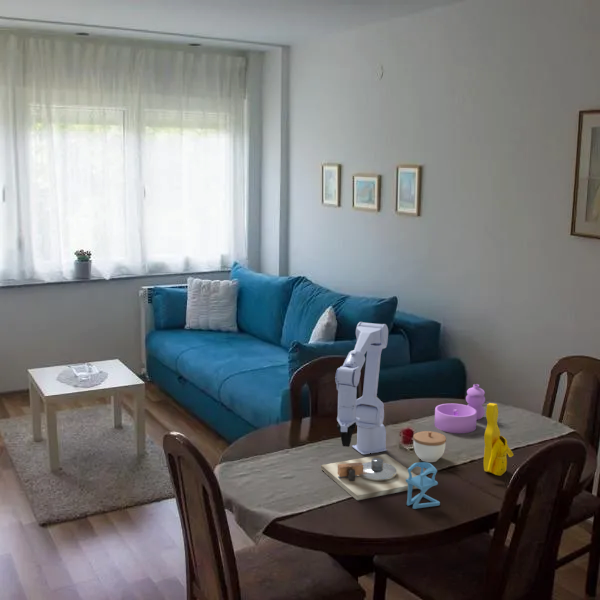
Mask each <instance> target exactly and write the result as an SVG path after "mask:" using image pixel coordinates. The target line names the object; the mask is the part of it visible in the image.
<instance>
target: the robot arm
mask: <svg viewBox="0 0 600 600" xmlns="http://www.w3.org/2000/svg"><path fill="white" fill-rule="evenodd" d="M355 337H356V343H355V345H354V349H353V350H350V351H349V352H348V354H347V356H346V358H345V359H344V362H343V364H342V365H341V366H340V367H338V368H337V369H336V372H335V377H334V378H335V380H334V381H335V384H336V391H337V417H336V421H337V422H338V423H337V425H336V428H337V430H338V433H339V436H340V439H341V445H342V447H345V448H346V447H347V448H350V445H351V442H352V436H353V433H354V431H355V430H356V426H357V431H356V437H357V438H356V444H353V445H351V447H352V448H353V449H354V450H356V451H357V452H358V453H360V454H361V455H362V456H363V455H370V453H371V454H377V453H381V452H387V448H386V447H387V445H386V443H387V430H386V427H385V425H384V424H383V423H384V420H385V419H384V418H385V410H384V409H385V408H384V407H385V405H384V402H383V401H381V399H380V398H379V397H378V395H377V394H378V387H379V376H380V375H379V374H380V366H381V356H382V355H381V354H382V351H383V350H384V349H386V348H387V346H388V341H389V338H388V337H389V328H388V325H387V324H386V323H372V322H363V321H359V322H358V323H357V325H356V328H355ZM365 354H366V357H365ZM364 364H365V369H364V376H363V377H364V378H363V390H362V396H360V397H359V398H357V387H358V386H359V383H360V380H361V379H360V378H361V370H362V368H363V366H364Z"/></svg>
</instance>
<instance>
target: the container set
mask: <svg viewBox="0 0 600 600" xmlns="http://www.w3.org/2000/svg"><path fill="white" fill-rule="evenodd" d="M466 394H467V395H466V396H465V401H466V402H467V404H462V403H451V402H450V403H442V404H438V405H436V406H435V409H434V427H435V428H436V429H438V430H439V431H440V430H441V431H442V432H446V433H451V434H467V433H468V434H469V433H472V432H475V431H476V430H477V420H481V419H482V418H483V417H484V416H485V415H486V410H485V408H484V406H483V405H484V404H485V402H486V396H485V394H486V392H485V389H483V388H481V387H480V384H478V383H476V384H475V383H474V384H473V385H472V387H470V388H468V389H467V390H466Z"/></svg>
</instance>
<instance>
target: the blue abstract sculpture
mask: <svg viewBox="0 0 600 600" xmlns="http://www.w3.org/2000/svg"><path fill="white" fill-rule="evenodd" d="M417 467H419V468H420V473H419V474H418V475H417V476H415V477H412V474H411V472H412V470H413V469H414V468H417ZM407 469H408V472H409V478H408V479H406V482H407V483H408V490H407V497H406V498H407V500H406V505H407V506H412V509H414V510H416V509H422V508H429V507H430V508H431V507H437V506H440V505H441V502H440V501H439V500H437V499H435V498H433V497H431V496H429V495H427V494H425V493H426V492H427V491H428V490H429V489H431V488H432V487H434V486H438V485H439V482H438V481H437V480H436V479H435V478H436V474H437V473H438V469H437V468H436V467H435V466H434V465H433V464H432V463H431V462H424V461H420V462H415V463H414V462H413V464H411V465H410V466H409V467H408V468H407ZM424 469H425V470H424ZM429 474H432V475H431V478H430V477H428V476H427V475H429ZM413 485H414V486H415V487H417V489H418V490H420V493H418V494H416V495H415V496H413V497H412V494H413V489H412V488H413ZM422 498H423V499H426V500H428V501H430V502H423V503H420V502H421V500H422Z"/></svg>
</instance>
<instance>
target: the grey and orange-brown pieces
mask: <svg viewBox="0 0 600 600" xmlns="http://www.w3.org/2000/svg"><path fill="white" fill-rule="evenodd" d="M350 469H354V470H355V475H359V476H360V477H362V478H364V479H367V480H371V481H387V480H391V479H393V478H395V477H396V468H395V467H394V466H392V465H390V464H387V463H383V460H382V459H380V458H374V459H372V461H371V462H367V463H363V464H362V463H361V462H358V463H348V464H338V475H339V476H340V477H343V476H349V470H350Z"/></svg>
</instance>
